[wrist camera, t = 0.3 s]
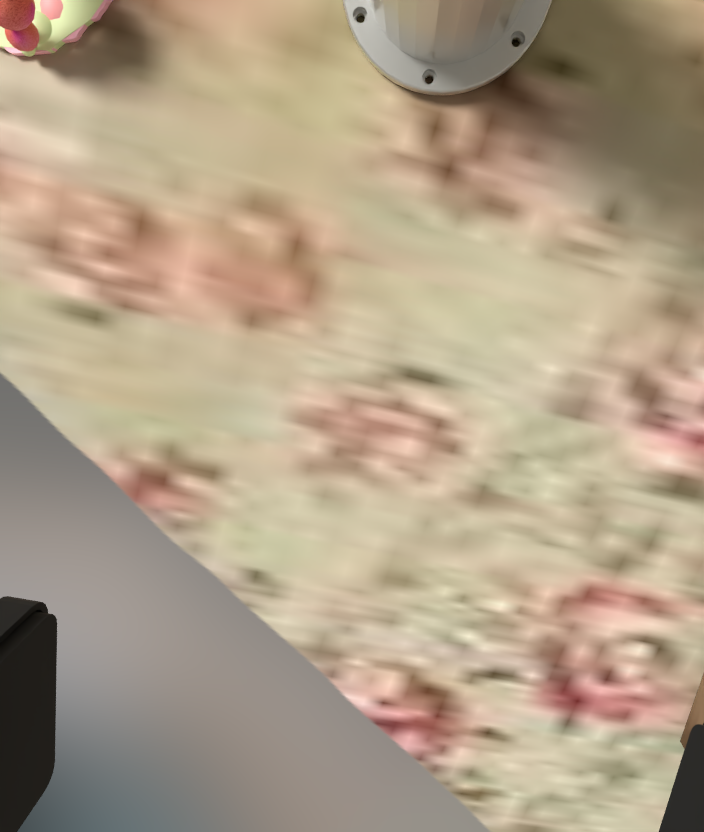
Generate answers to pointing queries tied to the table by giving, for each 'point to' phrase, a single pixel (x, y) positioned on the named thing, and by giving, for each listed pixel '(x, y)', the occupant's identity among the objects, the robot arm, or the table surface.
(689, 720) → the U-rest
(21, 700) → the robot arm
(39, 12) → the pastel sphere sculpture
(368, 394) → the table surface
